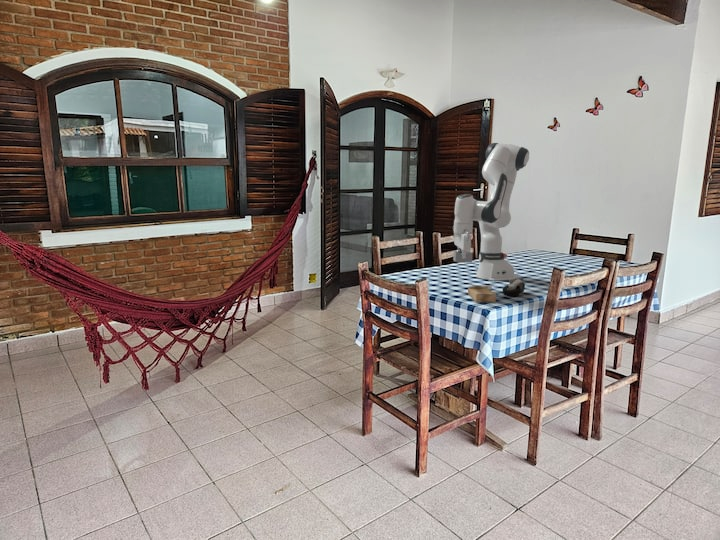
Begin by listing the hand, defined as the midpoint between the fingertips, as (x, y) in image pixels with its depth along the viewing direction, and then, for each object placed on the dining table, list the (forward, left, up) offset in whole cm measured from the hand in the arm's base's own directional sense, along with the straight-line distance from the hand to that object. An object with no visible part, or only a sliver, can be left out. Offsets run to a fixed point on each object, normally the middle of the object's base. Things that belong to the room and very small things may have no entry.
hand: (461, 257), depth 240 cm
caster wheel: (-25, +7, -17) cm, 31 cm away
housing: (0, 0, -2) cm, 2 cm away
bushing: (-13, +2, -17) cm, 21 cm away
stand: (-7, +13, -17) cm, 22 cm away
